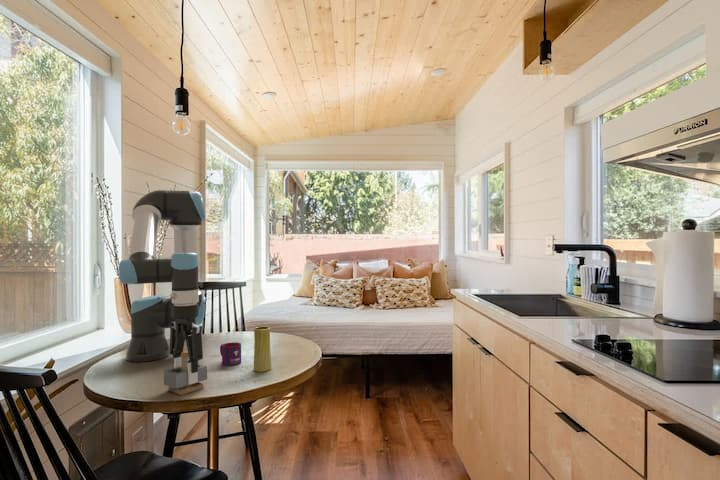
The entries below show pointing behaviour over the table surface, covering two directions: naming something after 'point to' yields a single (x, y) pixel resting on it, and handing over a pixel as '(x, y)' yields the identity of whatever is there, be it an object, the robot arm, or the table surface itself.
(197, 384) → the keeper post
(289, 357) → the table surface
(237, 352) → the mug
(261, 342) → the vase
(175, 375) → the link
